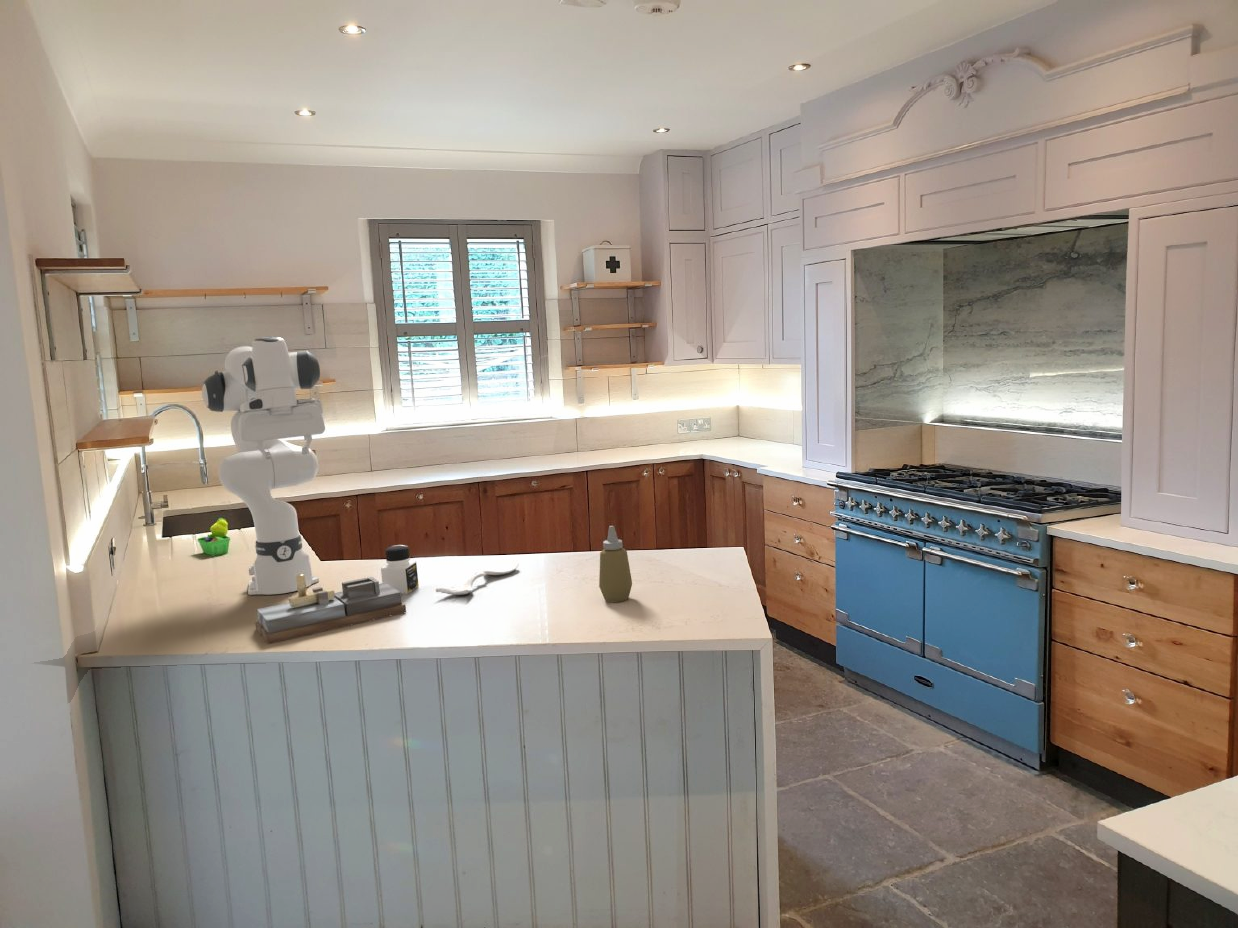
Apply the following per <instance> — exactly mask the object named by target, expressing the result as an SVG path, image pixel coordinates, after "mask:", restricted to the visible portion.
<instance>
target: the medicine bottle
mask: <svg viewBox="0 0 1238 928" xmlns="http://www.w3.org/2000/svg"><path fill="white" fill-rule="evenodd" d="M385 561H386V565H384V566H383V567H381V568H380V574H381V583H386V584H388V585H390V586H391V587H393V588H395V589H396V590H398V591H400V592H401V595H405V594H406V595H407V594H408V595H409V594H410V593H411V592H413V591H414V590H416V589H417V588H418V587H419V585H420V584H419V577H418V567H417V566H418V565H417V561H416V560H411V556H410V548H409V546H408V545H405V544H404V545H403V544H397V545H391V546H389V547H387V548H385ZM412 590H413V591H412Z"/></svg>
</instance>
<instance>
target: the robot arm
mask: <svg viewBox="0 0 1238 928" xmlns="http://www.w3.org/2000/svg"><path fill="white" fill-rule="evenodd" d="M251 344H252V346H247V345H245V346H238V347H236V348H233V349H232V350H231V351H229V352H228V354H227V355H226V357H225V360H224V369H225V370H224V371H220V372H219V370H215V371H214V374H211V375H210V376H208V377H207V378H206V379H205V380H204V381H203V385H202V388H201V397H202V400H203V402H204V404H205V405H206V408H207V409H208V410H210V411H211V412H217V413H219V412H220V413H222V412H235V413H234V414H233V416H232V418H231V420H230V430H231V431H230V432H231V437H232V440H233V442H234V445H235V447H236V449H237V451H238V453H235V454H232V455H229V456H225V457H224V458H223V459H221V462H220V464H219V467H218V473H217V475H218V479H219V482H220V484H221V485H222V486H223V488H224V489H225V490H227V491H228V492H230V493H232V494H234V495H235V496H237V497H238V498H240V499H241V500H242V502H244V504H245V505H246V506H247V508H248V509H249V511H250V514H251V516H252V520H253V525H254V530H255V536H256V541H255V545H254V547H255V553H256V554H257V555H256V557H255V559H254V563H253V564H252V566H249V567H248V575H249V576H252V577H251V579H249V580H248V589H247V593H248V594H247V595H249V596H253V595H254V596H255V595H269V596H270V595H281V594H286V593H287V594H288V593H292V592H298V589H297V581H296V575H298V574H305V580H306V588H308V587H310V586H311V585H312V584H315V583H318V582H319V577H318V576H315V575H313V572H312V567H311V559H310V555H309V553H307V552H306V551H305V550H303V549H302V548H303V540H302V537H301V536H302V535H300V532H299V523H298V514H297V510H296V508H295V506H293V505H292V504H290V503H289V502H286V501H284V500H281V499H277V498H274V497H273V496H272V495H271V494H272V493H271V491H272V490H276V489H282V488H291V487H297V486H300V485H303V484H306V483H309V482H312V481H314V479H315V478H316V477H317V474H318V472H319V467H320V466H319V464H320V463H319V459H318V457H317V455H316V453H315V452H314V451H313V450H312V449H311V448H310V445H311V443H312V441H313V436H314V435H315V436H316V435H321V434H323V433H324V432H325V431H326V425H325V421H324V418H323V415H322V414H323V404H322V403H321V401H319V400H318V399H315V398H314V397H312V398H301V399H300V398H299V399H298V398H297V392H296V390H311V389H313V388H314V387H315V386H316V385H317V383H318V382H319V380H320V377H321V369H320V368H321V367H320V363H319V361H318V359H317V357H316V356H314V354H313V353H311V352H310V351H308V350H300V351H292V352H290V351H289V349H288V345H287V343H286V340H285V339H284V338H282V337H280V336H266V337H265V336H264V337H258V338H257V337H256V338H255V339H253V340H252V343H251ZM297 437H303V439H304V441H306V442H305V445H304V446H301V445H296V444H293V443H291V442H288V441H286V440H284V439H291V438H297Z"/></svg>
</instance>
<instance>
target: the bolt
mask: <svg viewBox="0 0 1238 928" xmlns="http://www.w3.org/2000/svg"><path fill="white" fill-rule="evenodd" d="M296 581H297V589H298V590H297V595H294V596H289V597H288V603H289V604H290V606H291V607H297V606H301V605H306V604H311V603H316V602H318V595H317V592H313V591H312V592H308V589H307V588H308V587H306V580H305V574H298V575H296ZM325 590H326V591H327V592H328V600H330V599H335V595H334V593H335V590H334V589H333V588H329V589H323V591H325ZM318 592H320V591H318Z"/></svg>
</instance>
